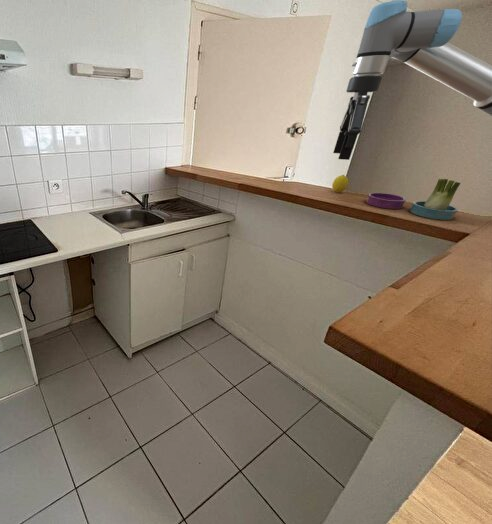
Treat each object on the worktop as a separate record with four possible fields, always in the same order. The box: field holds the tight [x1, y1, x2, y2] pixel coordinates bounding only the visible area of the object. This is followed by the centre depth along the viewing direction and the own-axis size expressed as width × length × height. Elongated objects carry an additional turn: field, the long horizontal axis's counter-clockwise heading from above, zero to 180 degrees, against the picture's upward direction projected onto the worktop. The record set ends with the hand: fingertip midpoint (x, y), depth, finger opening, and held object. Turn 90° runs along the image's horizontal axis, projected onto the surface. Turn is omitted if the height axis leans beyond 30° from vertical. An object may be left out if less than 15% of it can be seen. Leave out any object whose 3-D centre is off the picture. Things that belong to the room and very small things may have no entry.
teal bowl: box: [409, 200, 459, 221], centre depth 98 cm, size 11×11×4 cm
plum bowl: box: [365, 192, 407, 210], centre depth 108 cm, size 11×11×4 cm
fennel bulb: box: [424, 178, 461, 211], centre depth 95 cm, size 6×5×12 cm
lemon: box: [331, 174, 349, 194], centre depth 122 cm, size 6×6×8 cm
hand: (340, 156), depth 89 cm, fingers open, 13 cm apart
